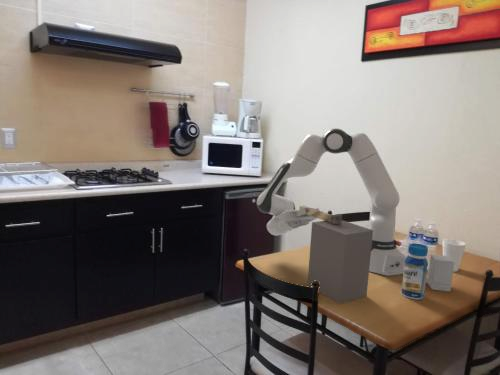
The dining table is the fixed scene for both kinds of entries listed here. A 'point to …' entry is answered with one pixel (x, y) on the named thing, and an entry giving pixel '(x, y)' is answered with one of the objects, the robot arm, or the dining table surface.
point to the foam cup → (453, 251)
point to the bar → (323, 215)
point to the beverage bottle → (415, 272)
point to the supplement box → (440, 272)
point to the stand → (340, 259)
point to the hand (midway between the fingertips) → (309, 210)
